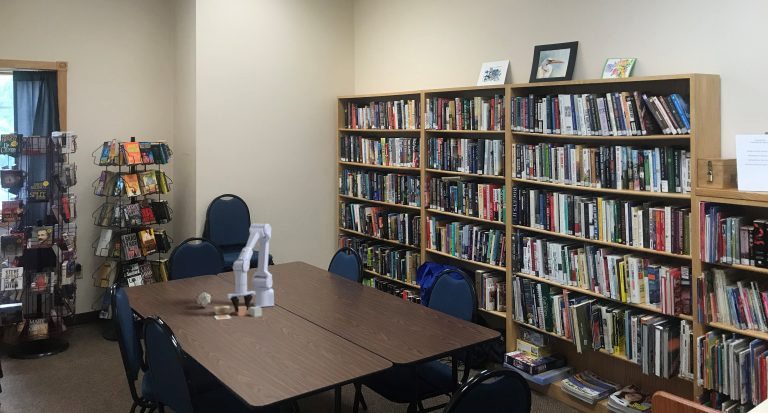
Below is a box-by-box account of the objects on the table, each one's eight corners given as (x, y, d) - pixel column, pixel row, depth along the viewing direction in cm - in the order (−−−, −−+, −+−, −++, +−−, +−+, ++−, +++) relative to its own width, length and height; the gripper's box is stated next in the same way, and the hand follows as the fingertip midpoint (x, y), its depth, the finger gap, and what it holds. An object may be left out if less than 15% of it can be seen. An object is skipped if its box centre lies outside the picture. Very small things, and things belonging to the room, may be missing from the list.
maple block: (228, 311, 318) (228, 305, 318) (230, 314, 311) (230, 308, 311) (214, 312, 315) (214, 306, 315) (216, 315, 309) (216, 309, 309)
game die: (207, 310, 318) (207, 291, 317) (192, 310, 320) (192, 291, 319) (215, 307, 327) (215, 288, 326) (201, 306, 328) (200, 288, 328)
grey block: (256, 314, 311) (256, 306, 310) (261, 315, 307) (261, 307, 307) (249, 315, 308) (249, 307, 308) (254, 317, 304) (254, 308, 304)
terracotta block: (244, 313, 313) (244, 305, 312) (246, 315, 308) (246, 307, 308) (236, 313, 311) (236, 306, 311) (238, 315, 306) (238, 307, 306)
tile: (228, 315, 307) (228, 314, 307) (231, 318, 301) (231, 317, 301) (214, 316, 304) (214, 315, 304) (216, 319, 298) (216, 318, 298)
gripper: (250, 281, 316) (250, 307, 317) (224, 284, 307) (224, 311, 308) (257, 283, 311) (257, 309, 312) (230, 286, 302) (230, 313, 302)
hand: (241, 310), depth 309 cm, fingers closed on terracotta block, 5 cm apart
